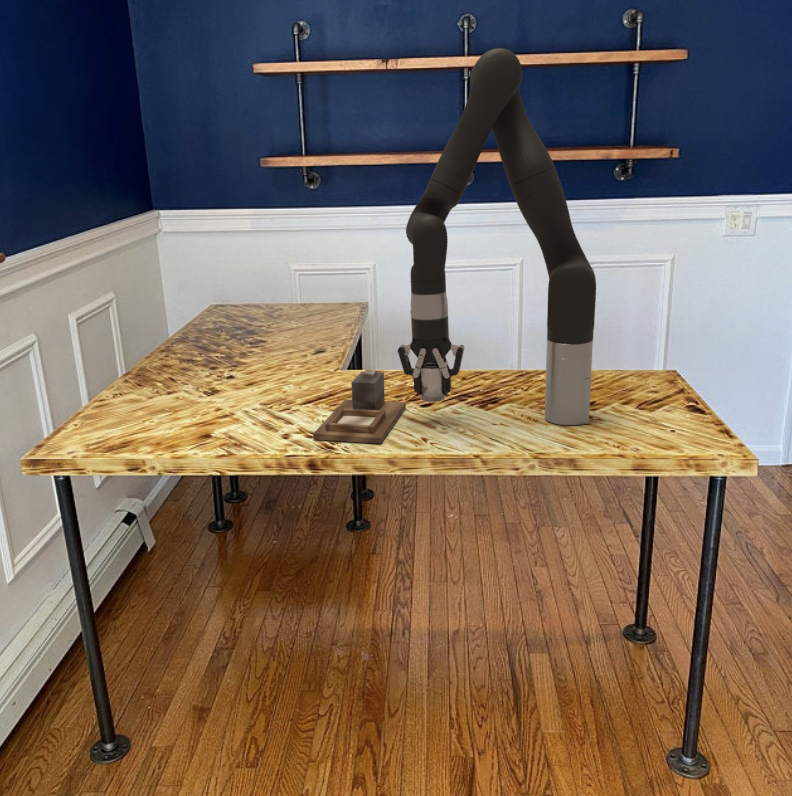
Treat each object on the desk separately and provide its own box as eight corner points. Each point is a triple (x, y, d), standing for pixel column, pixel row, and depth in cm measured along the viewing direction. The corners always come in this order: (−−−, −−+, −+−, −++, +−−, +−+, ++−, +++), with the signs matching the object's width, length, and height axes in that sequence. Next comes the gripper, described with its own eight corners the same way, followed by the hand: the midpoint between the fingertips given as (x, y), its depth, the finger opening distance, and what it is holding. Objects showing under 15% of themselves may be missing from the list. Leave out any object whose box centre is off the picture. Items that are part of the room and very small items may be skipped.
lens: (446, 394, 175) (445, 360, 172) (443, 402, 170) (441, 367, 168) (423, 394, 176) (421, 360, 173) (419, 401, 171) (417, 366, 169)
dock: (405, 407, 183) (404, 368, 180) (381, 443, 163) (379, 400, 160) (345, 404, 186) (343, 365, 183) (313, 439, 166) (310, 396, 163)
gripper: (467, 309, 169) (469, 389, 174) (398, 310, 172) (402, 388, 178) (462, 318, 162) (464, 400, 168) (390, 318, 165) (395, 399, 171)
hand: (432, 393), depth 173 cm, fingers closed on lens, 5 cm apart
